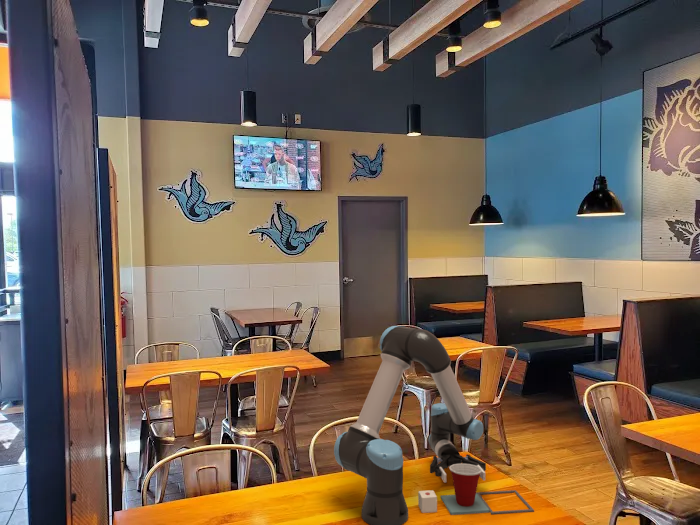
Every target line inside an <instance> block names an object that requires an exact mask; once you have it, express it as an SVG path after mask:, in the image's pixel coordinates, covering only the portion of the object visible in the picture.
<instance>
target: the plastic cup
mask: <svg viewBox="0 0 700 525" xmlns="http://www.w3.org/2000/svg"><path fill="white" fill-rule="evenodd" d="M448 468H449V470H450V472H451V477H452V482H453V488H454V495H455V496H456V501H457V503H458V504H459V505H461V506H466V507H467V506H472V505H473V504H474V501H475V495H476V493H477V490H478V485H479V480H480V478H481V477H480V474H481V472H482V469H481V468H480V467H478V466H476V465H471V464H462V463H461V464H453V465H451V466H450V467H448Z"/></svg>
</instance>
